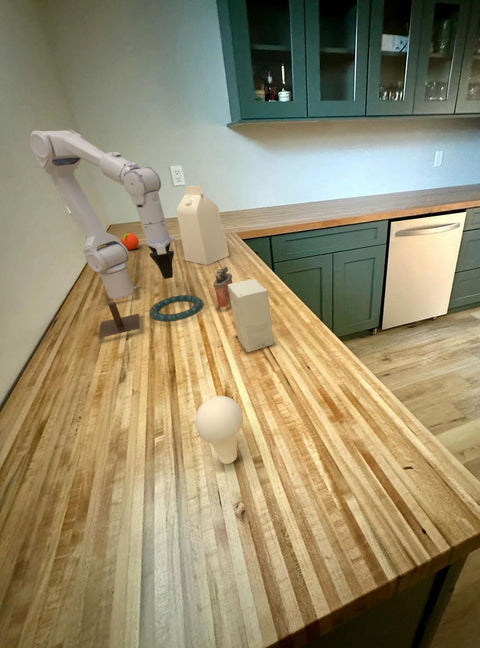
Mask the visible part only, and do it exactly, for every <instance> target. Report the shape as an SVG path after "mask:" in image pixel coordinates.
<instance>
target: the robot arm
mask: <svg viewBox="0 0 480 648" xmlns="http://www.w3.org/2000/svg"><path fill="white" fill-rule="evenodd" d="M29 136H30V137H29V140H30V141H29V142H30V143H29V149H30V151H31V152H32V154H33V155H34V157H35V158H36V160H37V162H38V163H39V165H40V167H41V169H42V170H43V172H44V173H46V174H47V175H48V177H49V179H50V180H51V182H52V184H53V186H54V187H55V189H56V190H57V192H58V194H59V195H60V197H61V199H62V200H63V202H64V204H65V205H66V207H67V209H68V210H69V212H70V214H71V216H72V217H73V219H74V220H75V222H76V223H77V226H78V227H79V229H80V230H81V231H82V234H83V235H84V237H85V239H86V240H85V243H84V245H83V246H82V252H83V254H84V256H85V259H86V262H87V263H86V264H87V265H88V266H89V268H90V269H91V270H93V271H94V272H95V273H96V274H99V275H100V279H101V280H102V284H103V287H104V289H105V292H106V294H107V297H108V299H110V300H111V299H112V300H117V299H118V300H119V299H123V298H126V297H129V296H131V295H132V294H134V293H135V289H137V286H133V283H132V279H131V277H130V273H129V271H128V268H127V266H129V264H128V262H129V260H130V253H129V249H126V247H125V246H124V245H123V244H122V243H121V240H120V238H119V237H118V236H116V235H114V234H112V233H109V232H107V230H106V229H105V226H104V225H103V223H102V221H101V219H99V216H98V215H97V213H96V211H95V209H94V207H93V206H92V205H91V203H90V201H89V199H88V197H87V195H86V194H85V192H84V191H83V189H82V187H81V185H80V184H79V181H78V179H77V178H76V176H75V171H76V170H77V169H78V168H79V166H80V163H81V161H82V160H84V161H86V162H88V163H90V164H92V165H94V166H96V167H98V168H100V172H101V173H102V174H103V176H105V177H107V178H109V179H111V180H112V181H114V182H116V183H118V184H119V185H121V186H123V188H124V189H125V191H126V193H127V194H128V195H129V196H130V198H131V202H132V203H133V204H134V205H135V208H136V211H137V215H138V218H139V221H140V222H139V223H140V225H141V227H142V228H141V229H142V232H143V235H144V238H145V246H147V247H148V248H149V250H150V251H151V252H149V257H150V258H151V259H152V261H153V262H154V263H155V264H156V266H157V267H158V269H159V271H160V273H161V275H162V277H163V279H164V280H168V279H172V278H174V270H173V258H174V255H175V251H174V250H170V247H171V242H173V241H176V238H175V236H174V235H171V236H170V233H169V229H168V226H167V222H166V217H165V214H164V210H163V206H162V202H161V197H160V194H159V192H160V190H161V188H162V180H161V178H160V175H159V173H158V172H157V171H156V170H155V169H153V167H151V166H144V167H141V166H140V165H138V163H137V162H135V161H134V162H133V161H131V160H128V159H126V158H125V157H123V156H122V153H120V152H118V151H113V152H111V151H109V152H107V153H106V152H104V151H103V150H101V149H99V148H98V147H96V146H95V145H94V144H91V143H90V142H88V141H87V140H85V139H84V138H83V136H82V134H80V133H79V132H76V131H74V130H72V129H65V130H32V132H31V133H30V135H29Z"/></svg>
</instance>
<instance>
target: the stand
mask: <svg viewBox="0 0 480 648" xmlns="http://www.w3.org/2000/svg"><path fill="white" fill-rule="evenodd" d="M107 305H108V309H109V311H110V314H111V316H112V319H108V320H104V321H101V322H100V327H99V332H98V333H99V334H98V339H102V338H106V337H111V336H115V335H119V334H123V333H126V332H127V333H128V332H132V331H135V330H140V313H135V314H131V315H126V316H121V314H120V311H119V308H118V305H117V302H115V301H111V302H109V303H107Z"/></svg>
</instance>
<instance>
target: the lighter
mask: <svg viewBox="0 0 480 648" xmlns="http://www.w3.org/2000/svg"><path fill="white" fill-rule="evenodd" d="M228 272H229V268H228V266H227V265H226V266H223V267H222V268H220V269H217V270H216V273H215V274H214V277H215V279H214V281H213V283H212V284H213V287H214V290H215V295H216V301H217V306H218V307H219V308H220V307H221V308H225V307H226V306H228V305H229V304H231V301H230V296H229V290H228V284H231V283H233V279H232V278H233V275H232V273H228Z"/></svg>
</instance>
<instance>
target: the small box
mask: <svg viewBox="0 0 480 648" xmlns="http://www.w3.org/2000/svg"><path fill="white" fill-rule="evenodd" d="M228 290H229V296H230V301H231V302H230V306H231V313H232V318H233V324H234V330H235V334H236V338H237V339H238V341H239V342H240V344H241V346H242V347H243V349H244V350H245V352H246V353H251V352H254V351H257V350H260V349H264V348H267V347H270V346H273V345H274V344H275V341H274V334H273V326H272V318H271V317H272V316H271V310H270V309H271V308H270V301H269V292H268V291H269V290H268V289H267V288H265V287H264V286H263V285H262V284H261V283H260V282H259V281H258V280H257V279H256V278H250V279H246V280H241V281H236V282H232V283H231V284H228Z"/></svg>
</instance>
